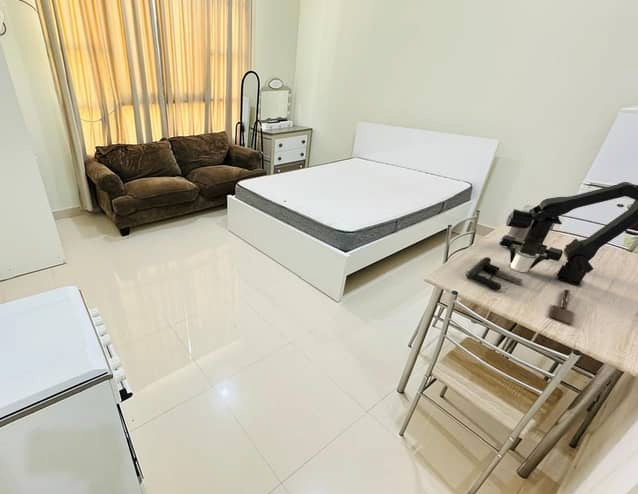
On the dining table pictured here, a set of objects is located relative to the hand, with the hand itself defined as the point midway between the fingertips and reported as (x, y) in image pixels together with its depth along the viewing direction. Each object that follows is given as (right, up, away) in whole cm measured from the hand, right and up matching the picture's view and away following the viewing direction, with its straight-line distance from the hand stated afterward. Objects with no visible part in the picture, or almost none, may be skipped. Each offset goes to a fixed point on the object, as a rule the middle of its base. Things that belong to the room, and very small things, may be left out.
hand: (520, 265), depth 130 cm
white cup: (0, -1, +1) cm, 2 cm away
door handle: (-16, -5, -5) cm, 17 cm away
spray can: (+11, +7, +16) cm, 21 cm away
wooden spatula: (-3, -13, -20) cm, 24 cm away
